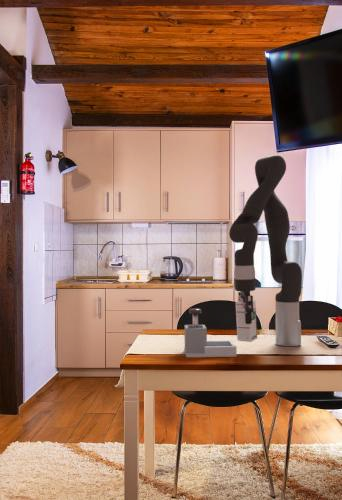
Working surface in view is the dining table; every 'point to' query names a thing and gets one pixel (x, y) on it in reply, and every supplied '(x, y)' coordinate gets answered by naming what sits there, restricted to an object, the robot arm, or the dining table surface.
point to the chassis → (206, 344)
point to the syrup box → (245, 330)
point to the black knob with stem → (195, 316)
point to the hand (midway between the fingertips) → (246, 321)
